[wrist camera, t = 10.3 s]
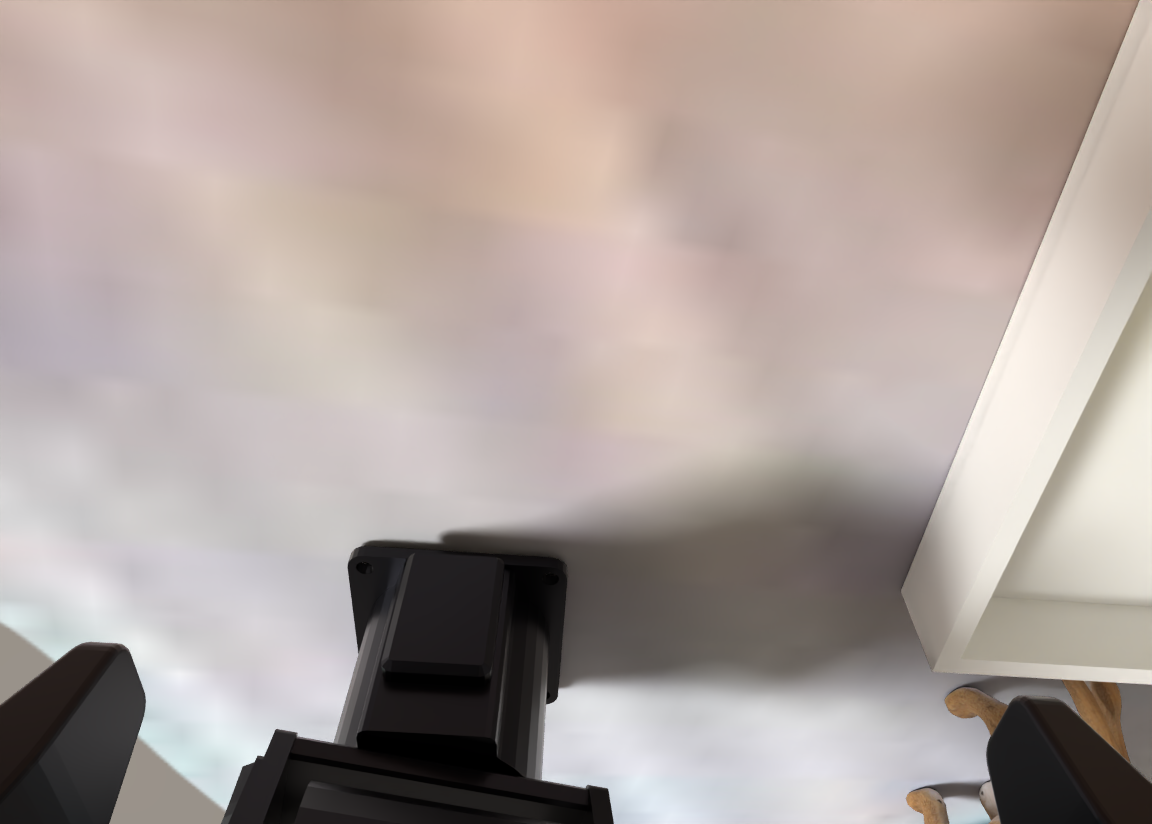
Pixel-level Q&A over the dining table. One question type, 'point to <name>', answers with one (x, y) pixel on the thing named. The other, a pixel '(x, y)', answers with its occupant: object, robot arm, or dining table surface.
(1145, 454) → the tray
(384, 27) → the dining table surface
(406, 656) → the robot arm
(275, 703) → the dining table surface
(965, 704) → the lion figurine
